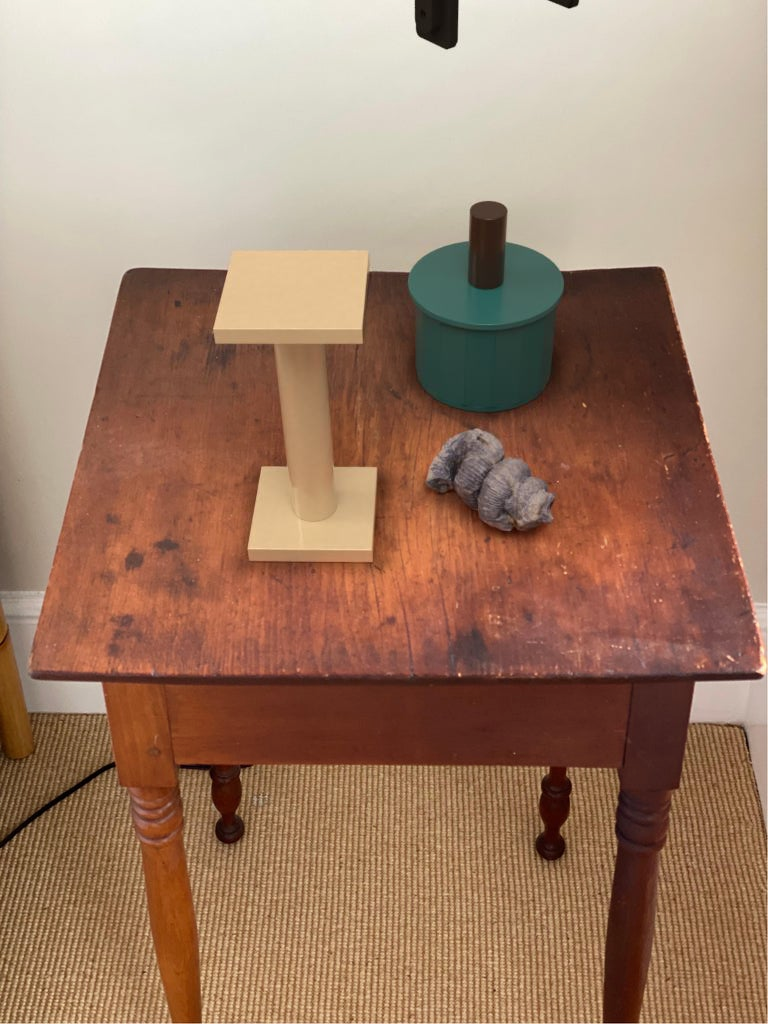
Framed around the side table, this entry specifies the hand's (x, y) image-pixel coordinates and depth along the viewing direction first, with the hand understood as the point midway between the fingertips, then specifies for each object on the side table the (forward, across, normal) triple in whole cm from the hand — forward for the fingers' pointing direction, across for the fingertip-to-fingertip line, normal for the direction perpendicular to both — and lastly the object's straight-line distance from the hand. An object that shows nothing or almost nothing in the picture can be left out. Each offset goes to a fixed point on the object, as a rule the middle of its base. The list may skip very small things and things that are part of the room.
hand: (498, 21), depth 69 cm
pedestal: (+26, -19, -6) cm, 33 cm away
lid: (+19, 0, 0) cm, 19 cm away
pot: (+26, 0, 0) cm, 26 cm away
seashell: (+26, -9, -12) cm, 31 cm away
